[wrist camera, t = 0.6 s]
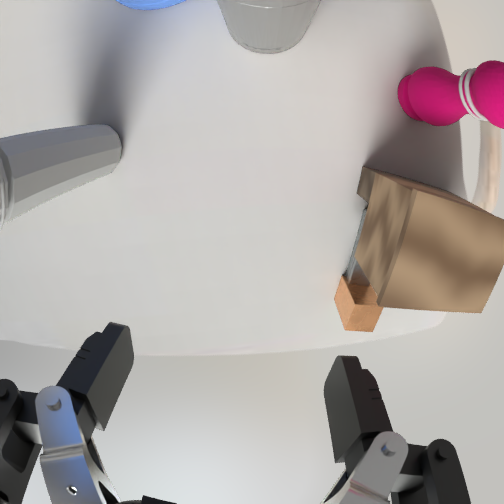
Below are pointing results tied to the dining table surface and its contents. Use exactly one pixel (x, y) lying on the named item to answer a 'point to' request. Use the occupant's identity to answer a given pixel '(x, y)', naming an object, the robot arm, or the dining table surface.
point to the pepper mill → (454, 94)
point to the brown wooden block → (427, 246)
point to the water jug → (149, 3)
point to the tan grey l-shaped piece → (357, 296)
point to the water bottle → (52, 164)
